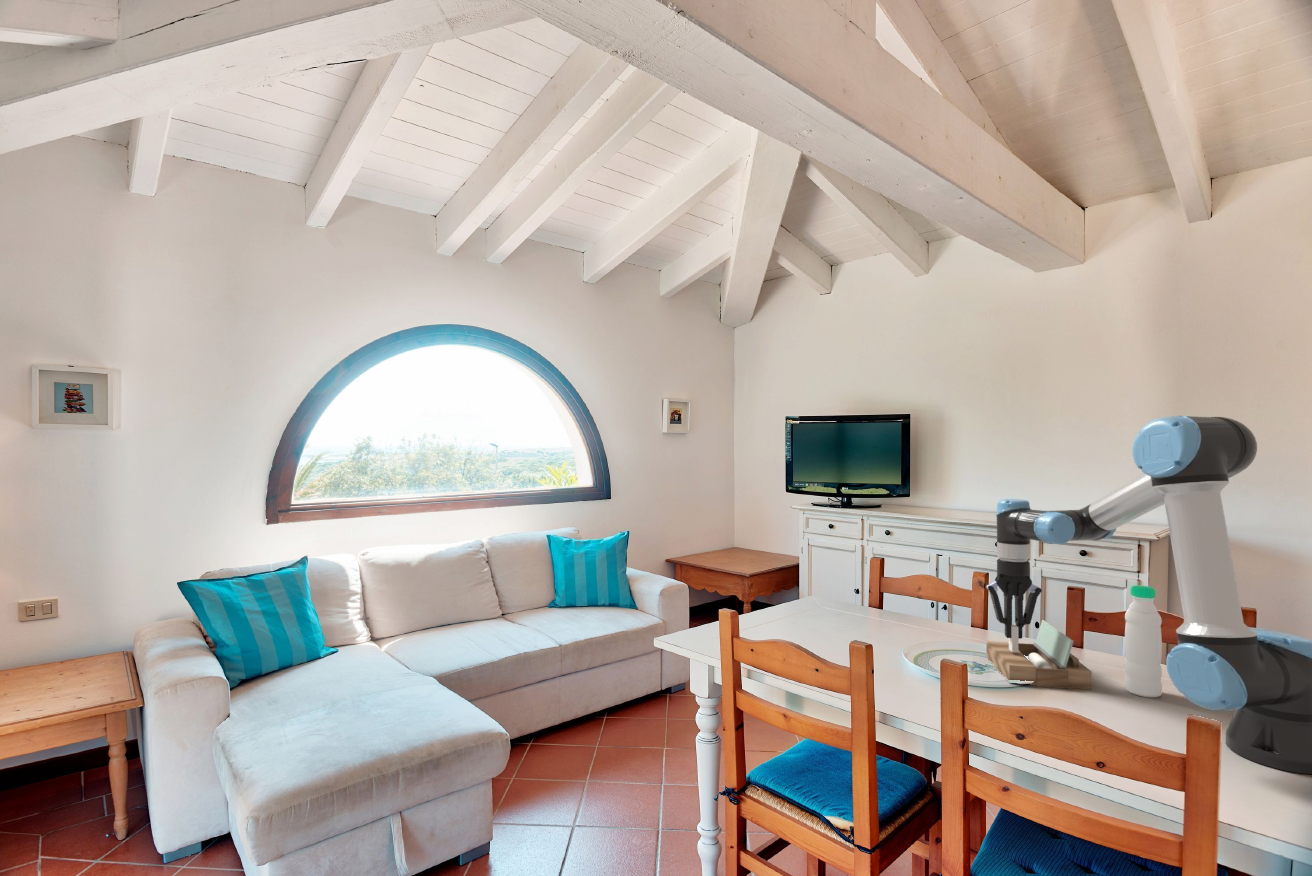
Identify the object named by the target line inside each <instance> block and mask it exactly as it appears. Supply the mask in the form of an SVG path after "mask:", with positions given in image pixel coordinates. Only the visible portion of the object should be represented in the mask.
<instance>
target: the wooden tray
mask: <svg viewBox="0 0 1312 876" xmlns="http://www.w3.org/2000/svg"><path fill="white" fill-rule="evenodd" d="M985 642H986V645H985V646H986V654H985V656H986V659H987V658H988V659H987V660H988V661H989V660H990V661H991V662H992V663H993V664H994V665H995V667H996V668H997V669H998V670H999V671H1000V672H1001V673H1000V672H999V671H998V670H997V669H996V668H995V667H994V668H995V669H996V670H997V671H998V672H999V673H1000V674H1001V675H1002V674H1003V676H1004V677H1006V678H1007V679H1008V680H1020V681H1025V680H1026V681H1034V682H1033V683H1032V684H1030V685H1029V686H1036V687H1043V688H1044V687H1045V688H1056V689H1057V688H1060V689H1083V690H1092V670H1091V669H1090V668H1088V667H1087V666H1085V665H1084V664H1083V663H1082V662H1080V659H1079V658H1077V657H1076V656H1075V655H1074V654H1072V653H1071V652H1070V655H1069V658H1068V662H1067V665H1066V668H1065V669H1061V668H1059V667H1058V666H1057V665H1056V664H1055V663H1054V662H1052V661H1051V660H1050V659H1049V658H1048V657H1047V656H1045V655H1044V654H1043V653H1042V652H1041V651H1040V650H1038V649H1037V648H1036V647H1035V646H1034V645H1033V643H1023V642H1022V643H1020V642H1018V652H1012V651H1011V650H1010V649H1009V641H1008V642H1007V641H993V640H986V641H985ZM1031 653H1037V654H1039V655H1040V656H1041V657H1042V658H1043V659H1045V660H1046V661H1047V662H1048V663H1049V664H1050V665H1051V666H1053V667H1054V668H1055V669H1049V668H1036V666H1035V665H1034V664H1033V663H1032V662H1031V661H1030V660H1028V659H1027V658H1026V657H1025V656H1029V654H1031ZM1024 655H1025V656H1024ZM990 661H989V662H990ZM991 662H990V663H991ZM992 663H991V664H992ZM993 664H992V665H993ZM994 665H993V666H994ZM1003 676H1002V677H1003ZM1004 677H1003V678H1004Z"/></svg>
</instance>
